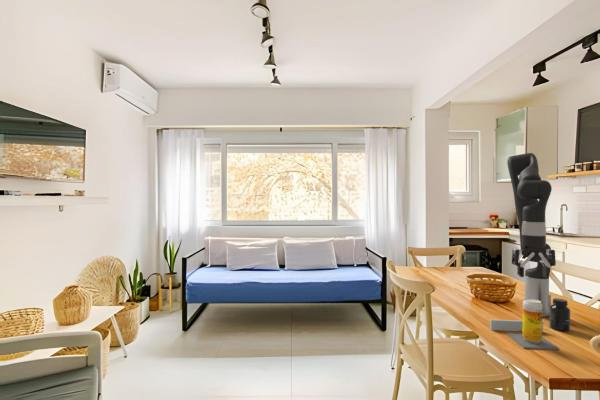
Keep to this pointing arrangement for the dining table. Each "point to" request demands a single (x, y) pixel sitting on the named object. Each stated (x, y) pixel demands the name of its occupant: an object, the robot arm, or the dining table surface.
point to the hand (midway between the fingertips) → (533, 276)
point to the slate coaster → (528, 345)
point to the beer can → (532, 320)
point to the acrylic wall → (507, 325)
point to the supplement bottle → (559, 315)
